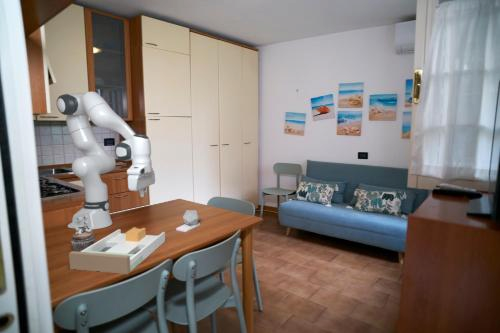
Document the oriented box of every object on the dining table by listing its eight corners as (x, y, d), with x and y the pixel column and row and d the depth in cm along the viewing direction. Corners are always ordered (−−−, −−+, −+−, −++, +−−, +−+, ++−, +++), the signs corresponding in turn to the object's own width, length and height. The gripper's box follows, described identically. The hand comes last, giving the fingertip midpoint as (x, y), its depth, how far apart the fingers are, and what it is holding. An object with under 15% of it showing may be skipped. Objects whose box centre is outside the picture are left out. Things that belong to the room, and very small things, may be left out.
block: (126, 240, 145) (125, 232, 145) (134, 235, 153) (134, 227, 152) (138, 241, 144) (137, 233, 144) (146, 236, 152) (145, 228, 151)
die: (191, 229, 171) (201, 213, 173) (177, 220, 172) (188, 205, 174) (193, 230, 179) (203, 214, 181) (180, 221, 180) (190, 206, 182)
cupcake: (69, 248, 142) (67, 227, 141) (91, 243, 149) (90, 222, 148) (75, 255, 136) (74, 232, 134) (99, 248, 142) (97, 227, 141)
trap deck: (70, 269, 123) (68, 253, 122) (119, 237, 156) (118, 225, 155) (127, 274, 119) (126, 257, 118) (165, 241, 152) (164, 228, 151)
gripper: (146, 165, 163) (147, 191, 165) (124, 171, 143) (126, 201, 145) (157, 165, 162) (158, 192, 164) (137, 171, 142) (139, 201, 144)
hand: (143, 196), depth 154 cm, fingers closed
